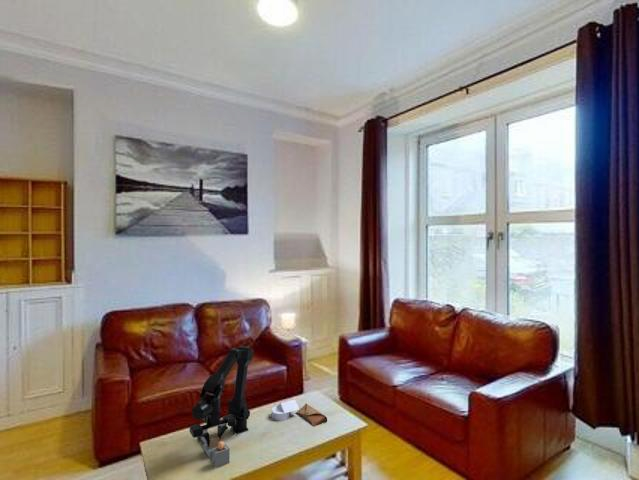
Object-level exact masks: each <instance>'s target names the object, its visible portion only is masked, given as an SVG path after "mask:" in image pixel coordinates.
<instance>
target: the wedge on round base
mask: <svg viewBox="0 0 639 480" xmlns="http://www.w3.org/2000/svg"><path fill="white" fill-rule="evenodd" d="M299 410H300V407H299V405H298V403H297V401H296V399H292V400H287V401H284V402H280V403H279V404H278V405H276V406H274V407H273V408H271V418H272V419H273V420H275V421H284V420H287V419H288V417H289V418H290V412H294V411H299Z"/></svg>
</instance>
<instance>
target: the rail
mask: <svg viewBox="0 0 639 480" xmlns="http://www.w3.org/2000/svg"><path fill="white" fill-rule="evenodd" d="M196 440H197V441H200V442H201V444H202V445H205V444H207V443H206V441H205V438H204V437H202V436H199V437H196Z"/></svg>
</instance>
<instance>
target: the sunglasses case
mask: <svg viewBox="0 0 639 480" xmlns="http://www.w3.org/2000/svg"><path fill="white" fill-rule="evenodd" d="M296 413H297V414H296ZM295 414H296V415H298V416H299V415H300V417H301V418H302V417H303V418H302V419H304V420H305V421H307V422H308V424H311V426H312V427H317V426H319V425H320V426H321V425H322V423H323V424H325V423H327V422H328V418H327V416H326V415H324V414H323V413H321V412H320V411H318V409H315V408H314V407H312V406H311V405H309V404H308V403H305V404H304V405H302V407H301V408H299V409H298V410H296V412H295ZM324 422H325V423H324Z"/></svg>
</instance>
